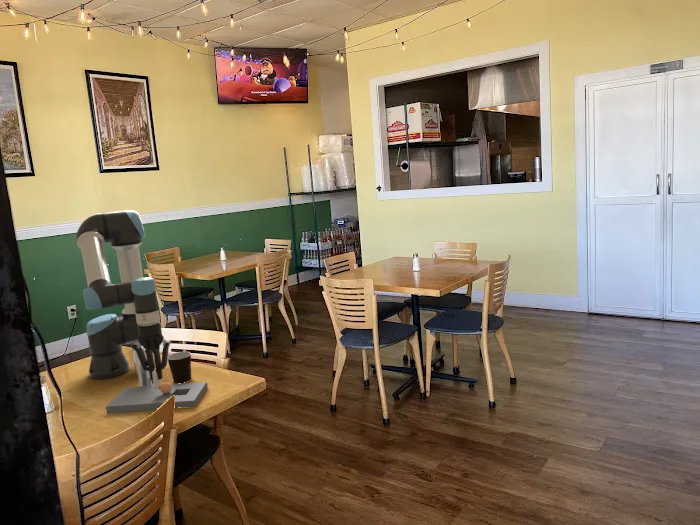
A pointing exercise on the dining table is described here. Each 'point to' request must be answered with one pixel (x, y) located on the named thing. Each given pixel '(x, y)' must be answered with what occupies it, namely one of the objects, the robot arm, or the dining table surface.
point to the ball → (165, 387)
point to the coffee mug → (180, 366)
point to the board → (156, 397)
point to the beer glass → (141, 370)
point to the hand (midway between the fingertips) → (158, 388)
